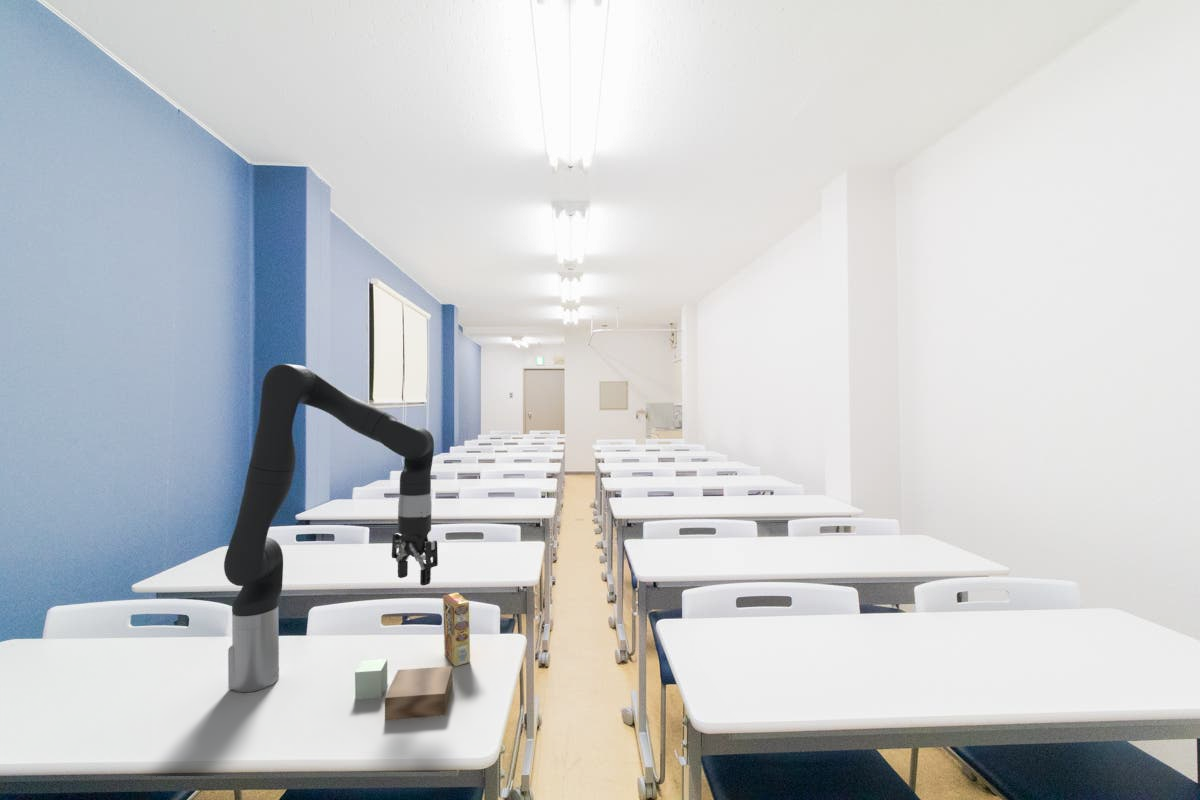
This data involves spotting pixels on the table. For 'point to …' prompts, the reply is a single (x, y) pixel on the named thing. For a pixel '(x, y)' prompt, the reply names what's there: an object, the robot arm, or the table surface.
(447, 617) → the candy box
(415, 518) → the robot arm
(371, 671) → the sage cube
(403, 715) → the walnut block
